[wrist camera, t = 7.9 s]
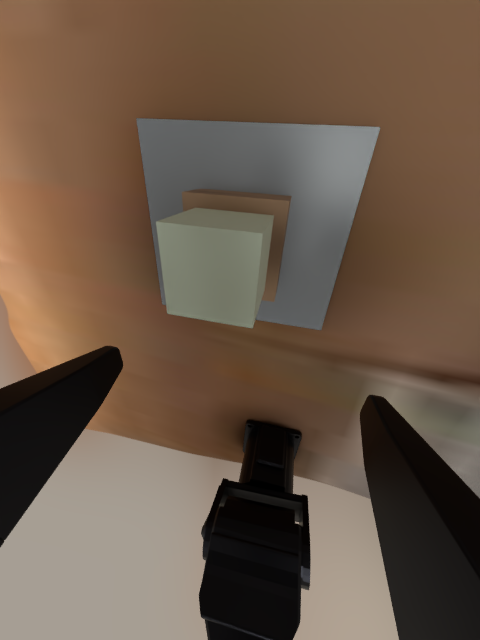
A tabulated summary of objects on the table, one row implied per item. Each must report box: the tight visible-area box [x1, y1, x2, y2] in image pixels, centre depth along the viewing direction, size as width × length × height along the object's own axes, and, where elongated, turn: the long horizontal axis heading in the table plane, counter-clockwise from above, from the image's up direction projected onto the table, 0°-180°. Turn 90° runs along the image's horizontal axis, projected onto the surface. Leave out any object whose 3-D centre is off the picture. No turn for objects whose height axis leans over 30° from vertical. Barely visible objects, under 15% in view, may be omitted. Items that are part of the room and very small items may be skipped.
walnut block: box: [182, 189, 291, 302], centre depth 16 cm, size 6×6×3 cm
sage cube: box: [156, 208, 274, 328], centre depth 13 cm, size 4×4×4 cm
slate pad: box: [136, 118, 380, 330], centre depth 17 cm, size 13×14×1 cm
